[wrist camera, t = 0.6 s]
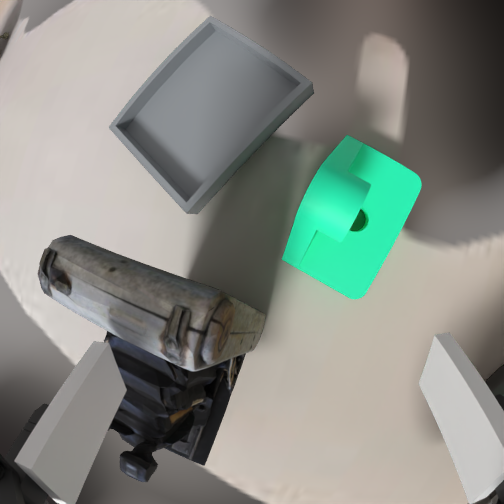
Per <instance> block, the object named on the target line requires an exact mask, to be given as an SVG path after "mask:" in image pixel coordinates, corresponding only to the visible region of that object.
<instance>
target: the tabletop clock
mask: <svg viewBox="0 0 504 504" xmlns="http://www.w3.org/2000/svg"><path fill="white" fill-rule="evenodd" d="M8 36H9V34H8V33H4V34H3V36H0V38H3V39H7V38H8Z"/></svg>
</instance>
